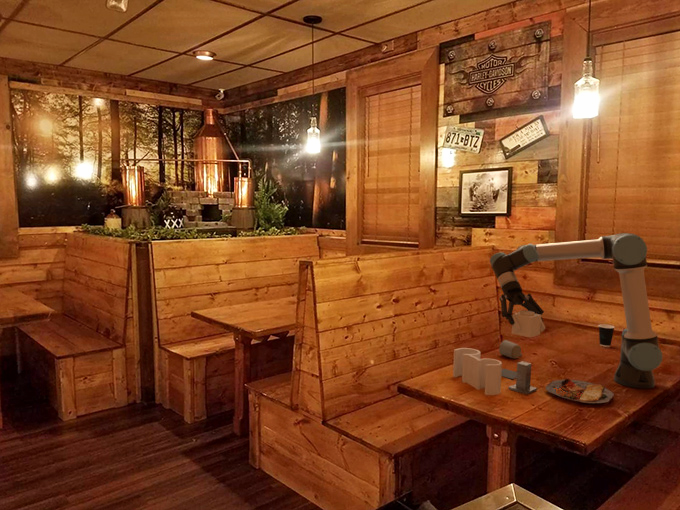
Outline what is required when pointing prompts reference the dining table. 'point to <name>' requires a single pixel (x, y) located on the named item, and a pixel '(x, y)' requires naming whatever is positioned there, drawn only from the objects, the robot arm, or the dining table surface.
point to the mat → (508, 374)
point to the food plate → (581, 390)
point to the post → (523, 379)
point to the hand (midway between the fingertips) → (530, 330)
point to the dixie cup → (605, 335)
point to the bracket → (477, 370)
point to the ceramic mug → (510, 349)
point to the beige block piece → (528, 323)
